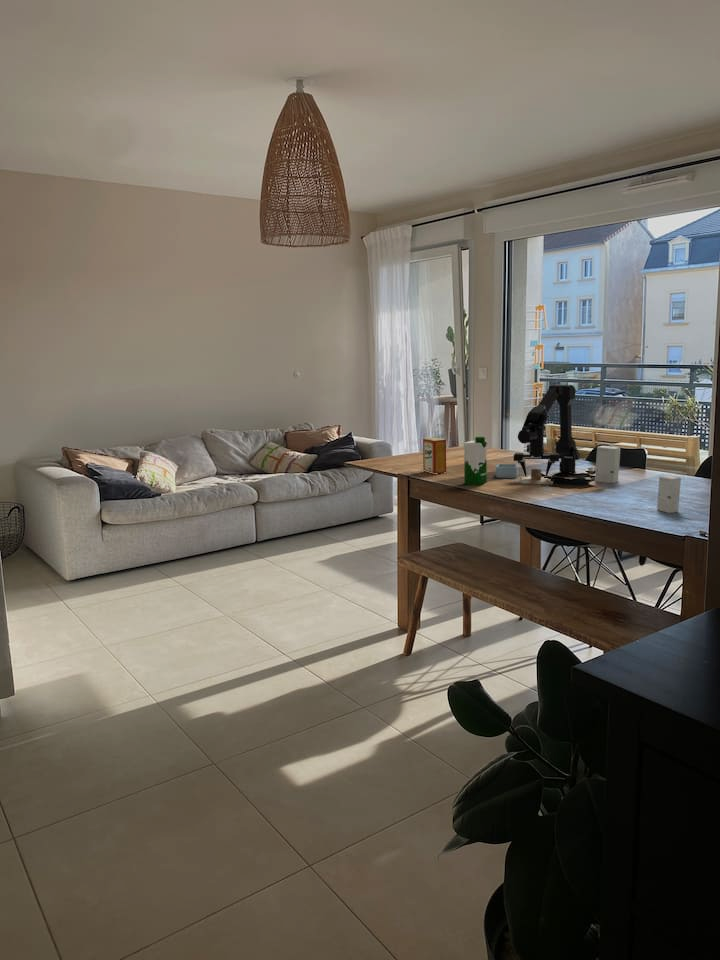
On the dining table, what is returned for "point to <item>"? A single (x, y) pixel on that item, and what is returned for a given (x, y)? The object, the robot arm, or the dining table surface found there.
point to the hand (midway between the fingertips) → (536, 477)
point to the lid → (535, 478)
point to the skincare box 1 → (607, 464)
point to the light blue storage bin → (507, 471)
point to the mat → (525, 483)
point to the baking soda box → (434, 455)
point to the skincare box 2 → (668, 494)
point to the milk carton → (475, 461)
